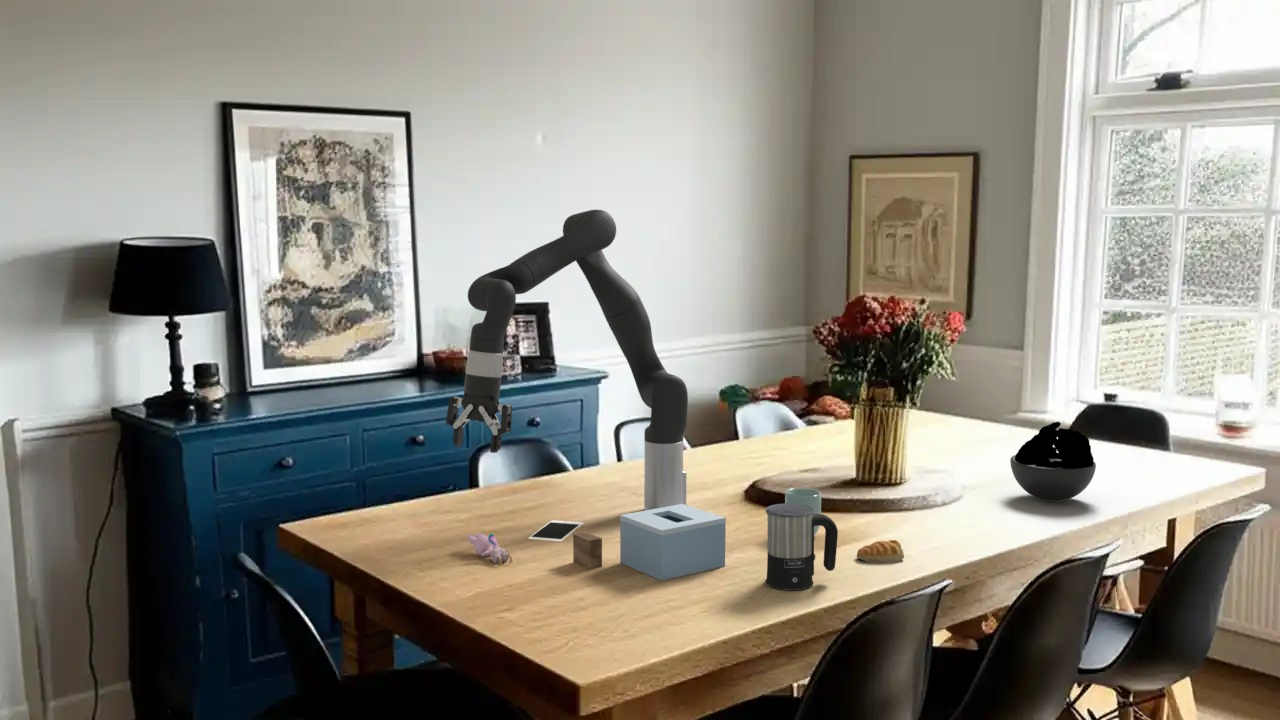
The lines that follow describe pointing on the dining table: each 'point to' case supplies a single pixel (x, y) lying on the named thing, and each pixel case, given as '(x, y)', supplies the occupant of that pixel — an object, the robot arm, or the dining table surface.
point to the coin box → (672, 541)
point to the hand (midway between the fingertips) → (475, 449)
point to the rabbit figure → (489, 548)
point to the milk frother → (796, 545)
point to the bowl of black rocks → (1054, 464)
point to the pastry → (881, 552)
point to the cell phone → (556, 531)
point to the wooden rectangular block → (587, 550)
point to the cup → (805, 499)
